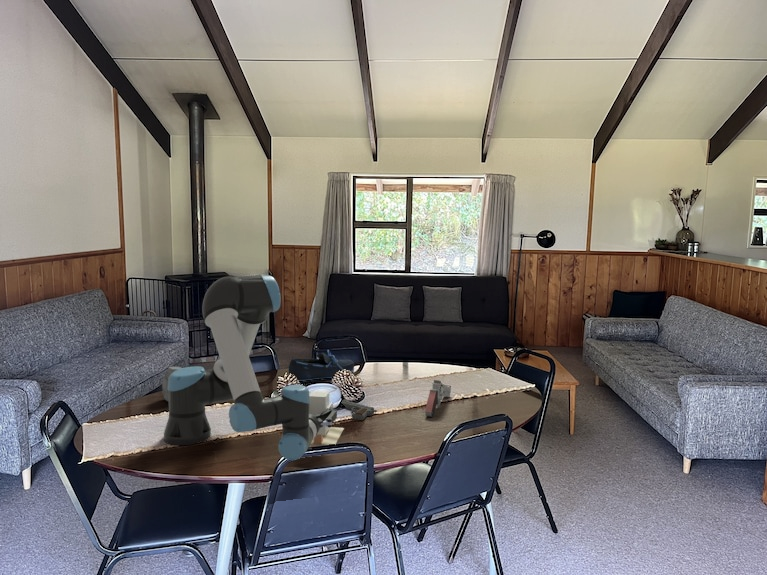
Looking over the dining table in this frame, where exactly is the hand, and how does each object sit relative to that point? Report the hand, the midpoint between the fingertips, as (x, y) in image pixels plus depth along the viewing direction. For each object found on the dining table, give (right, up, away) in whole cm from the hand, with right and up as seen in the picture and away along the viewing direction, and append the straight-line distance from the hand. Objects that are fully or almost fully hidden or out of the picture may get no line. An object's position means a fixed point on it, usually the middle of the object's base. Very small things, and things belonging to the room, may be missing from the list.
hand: (322, 405), depth 194 cm
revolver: (+43, -9, +40) cm, 59 cm away
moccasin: (-9, -3, +83) cm, 84 cm away
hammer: (-52, -6, +51) cm, 74 cm away
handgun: (+9, -9, +31) cm, 34 cm away
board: (0, -12, +1) cm, 12 cm away
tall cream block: (-1, -8, -4) cm, 9 cm away
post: (-1, -11, -4) cm, 12 cm away
